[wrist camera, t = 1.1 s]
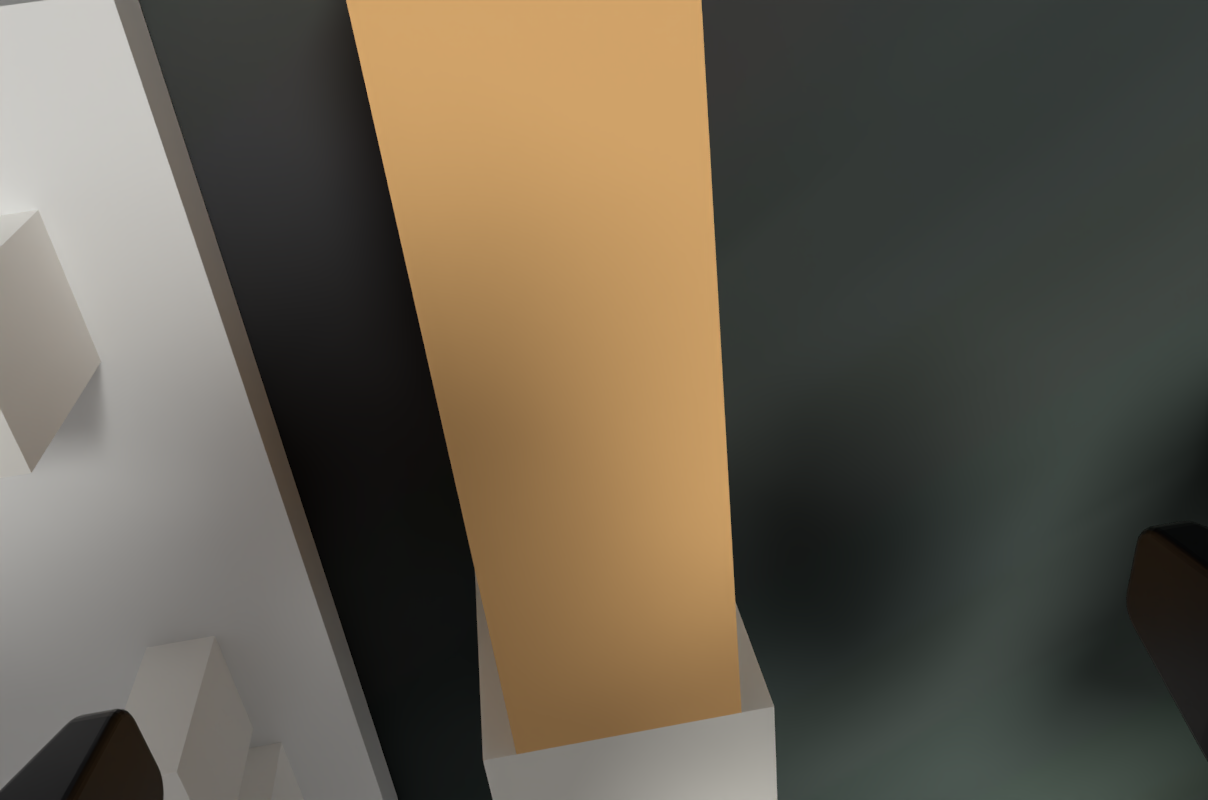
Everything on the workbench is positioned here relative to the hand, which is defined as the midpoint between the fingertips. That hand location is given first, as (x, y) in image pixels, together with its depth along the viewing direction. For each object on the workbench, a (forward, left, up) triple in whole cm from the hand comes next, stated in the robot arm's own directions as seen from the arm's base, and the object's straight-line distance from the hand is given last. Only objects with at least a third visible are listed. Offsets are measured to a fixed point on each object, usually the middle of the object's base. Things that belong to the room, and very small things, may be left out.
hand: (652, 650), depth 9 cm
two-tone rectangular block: (0, +2, -9) cm, 9 cm away
